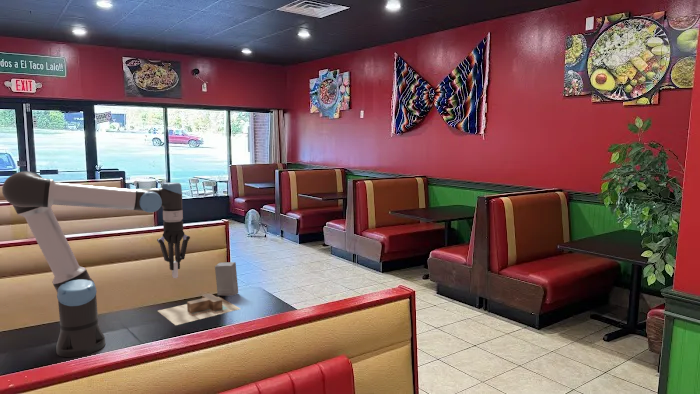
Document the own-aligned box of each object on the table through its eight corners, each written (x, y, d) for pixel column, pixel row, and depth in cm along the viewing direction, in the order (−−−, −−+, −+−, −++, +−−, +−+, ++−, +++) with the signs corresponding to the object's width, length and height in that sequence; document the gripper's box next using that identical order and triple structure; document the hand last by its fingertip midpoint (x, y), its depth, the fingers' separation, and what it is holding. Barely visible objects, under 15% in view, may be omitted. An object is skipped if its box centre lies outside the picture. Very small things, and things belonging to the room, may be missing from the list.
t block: (194, 315, 195) (194, 306, 195) (184, 308, 204) (183, 299, 204) (222, 309, 203) (222, 300, 202) (211, 302, 212) (210, 293, 212)
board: (175, 328, 185) (175, 325, 185) (157, 313, 202) (157, 310, 202) (241, 311, 203) (241, 308, 203) (219, 299, 220) (219, 296, 220)
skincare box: (238, 293, 228) (237, 261, 226) (233, 298, 221) (232, 265, 219) (221, 293, 229) (220, 261, 227) (216, 298, 221) (214, 265, 220)
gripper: (159, 223, 185) (162, 282, 188) (192, 220, 194) (194, 276, 196) (153, 221, 191) (155, 278, 194) (185, 218, 199) (187, 272, 202)
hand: (175, 277), depth 195 cm, fingers closed
